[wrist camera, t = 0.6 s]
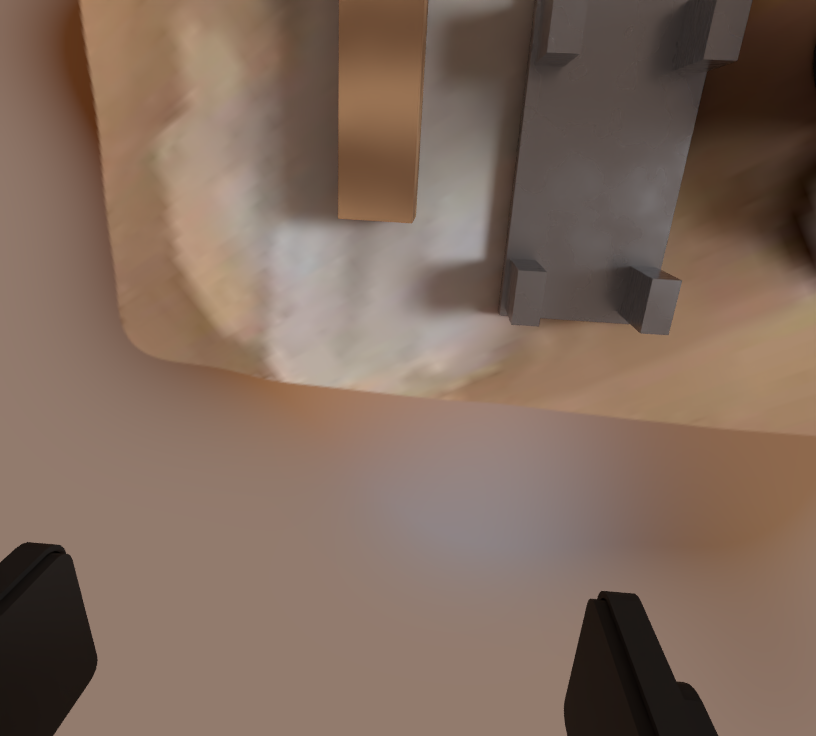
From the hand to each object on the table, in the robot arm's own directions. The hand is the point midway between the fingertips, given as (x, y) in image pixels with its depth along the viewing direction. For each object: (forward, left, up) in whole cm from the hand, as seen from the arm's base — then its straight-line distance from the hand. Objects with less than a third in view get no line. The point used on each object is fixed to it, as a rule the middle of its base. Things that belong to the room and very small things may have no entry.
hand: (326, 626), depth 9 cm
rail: (-14, -2, -26) cm, 29 cm away
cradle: (-8, +10, -25) cm, 28 cm away
